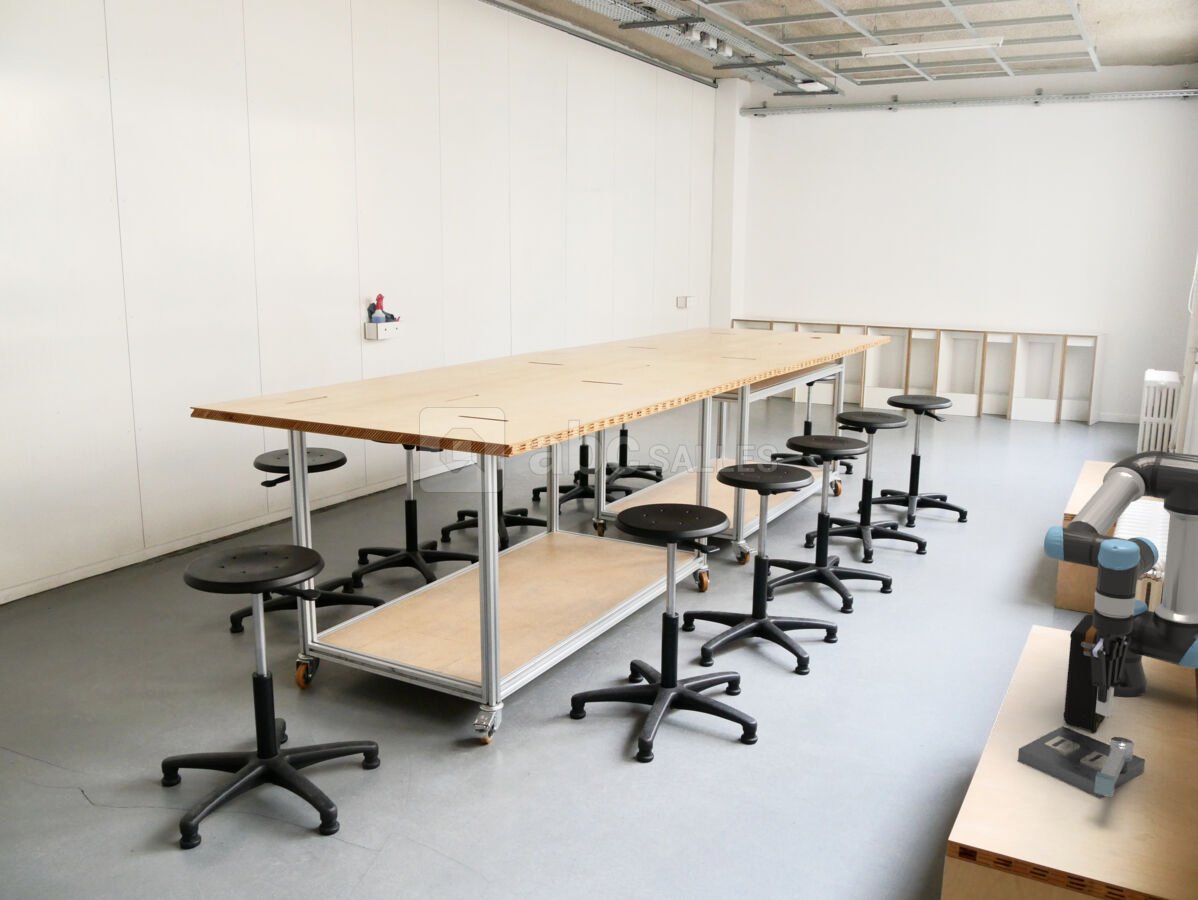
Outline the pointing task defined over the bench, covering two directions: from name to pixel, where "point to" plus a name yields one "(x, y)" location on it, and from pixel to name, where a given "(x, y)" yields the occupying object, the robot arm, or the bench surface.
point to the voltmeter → (1082, 679)
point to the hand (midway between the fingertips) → (1103, 713)
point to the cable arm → (1113, 765)
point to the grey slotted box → (1075, 759)
